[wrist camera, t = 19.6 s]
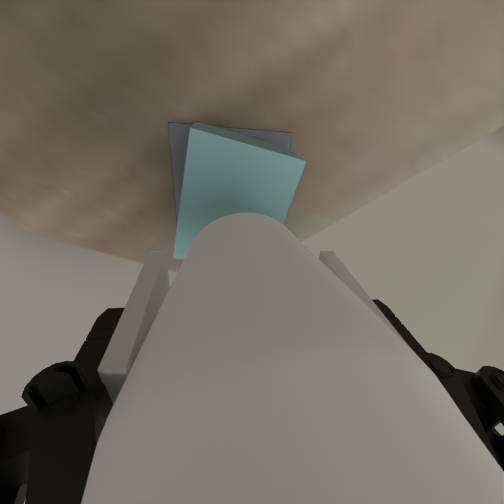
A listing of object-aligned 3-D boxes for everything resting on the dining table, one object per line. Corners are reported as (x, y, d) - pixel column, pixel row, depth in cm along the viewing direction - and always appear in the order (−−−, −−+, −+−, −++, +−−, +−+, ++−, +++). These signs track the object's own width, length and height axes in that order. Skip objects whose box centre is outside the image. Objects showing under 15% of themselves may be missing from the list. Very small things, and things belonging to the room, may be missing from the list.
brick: (181, 225, 28) (172, 258, 22) (196, 121, 22) (190, 127, 16) (255, 238, 30) (265, 271, 24) (284, 147, 25) (306, 161, 19)
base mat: (178, 235, 29) (178, 236, 28) (168, 122, 22) (168, 122, 22) (275, 236, 31) (275, 237, 30) (291, 132, 24) (292, 133, 24)
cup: (301, 314, 17) (421, 609, 7) (172, 318, 16) (97, 693, 6) (334, 193, 13) (804, 543, 3) (156, 184, 11) (-366, 892, 1)
